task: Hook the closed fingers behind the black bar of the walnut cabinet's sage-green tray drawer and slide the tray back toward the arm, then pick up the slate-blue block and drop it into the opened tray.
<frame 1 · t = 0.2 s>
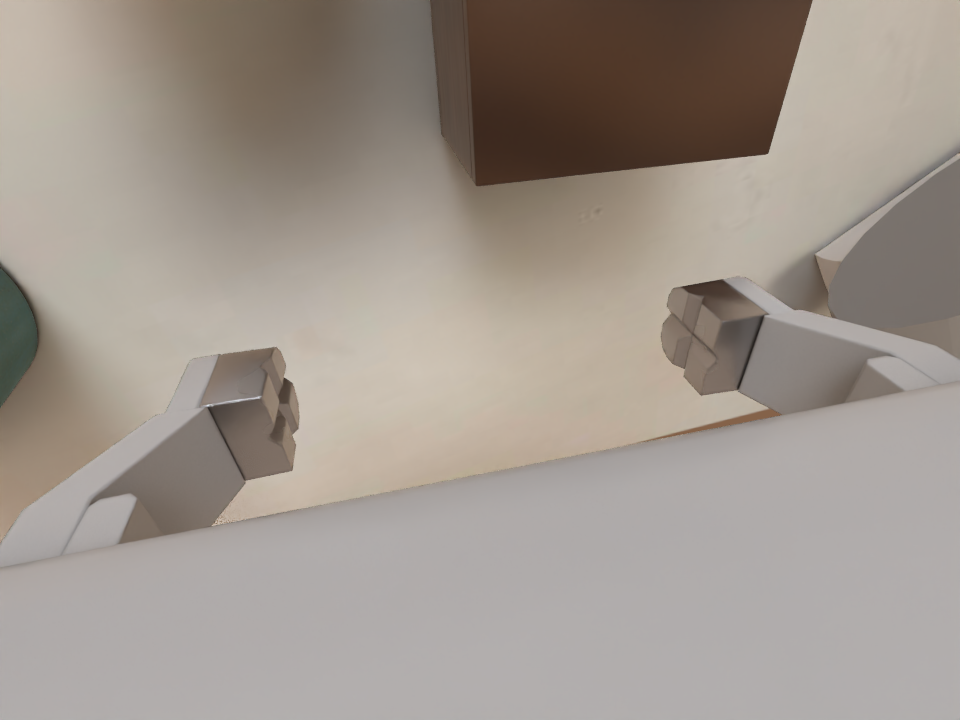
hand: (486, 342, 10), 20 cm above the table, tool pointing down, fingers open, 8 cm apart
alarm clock: (925, 201, 36), on the table
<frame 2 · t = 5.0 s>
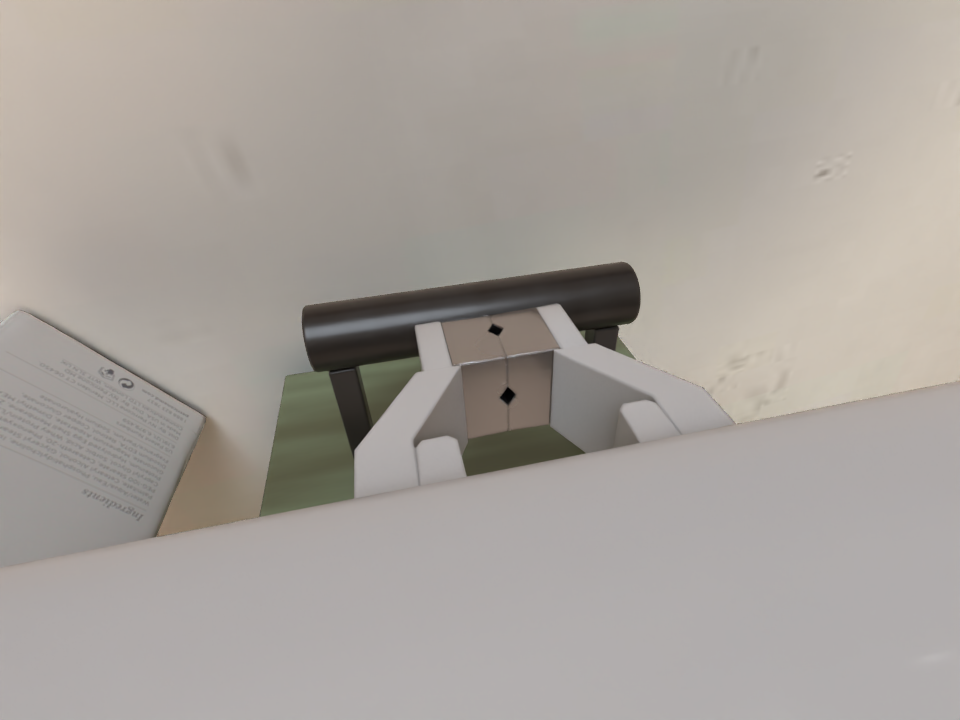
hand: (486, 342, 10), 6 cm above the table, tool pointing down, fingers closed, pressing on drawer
cosmetics box: (29, 444, 17), on the table
drawer: (483, 517, 16), point 5 cm above the table, slide at 0.5 cm, touching gripper
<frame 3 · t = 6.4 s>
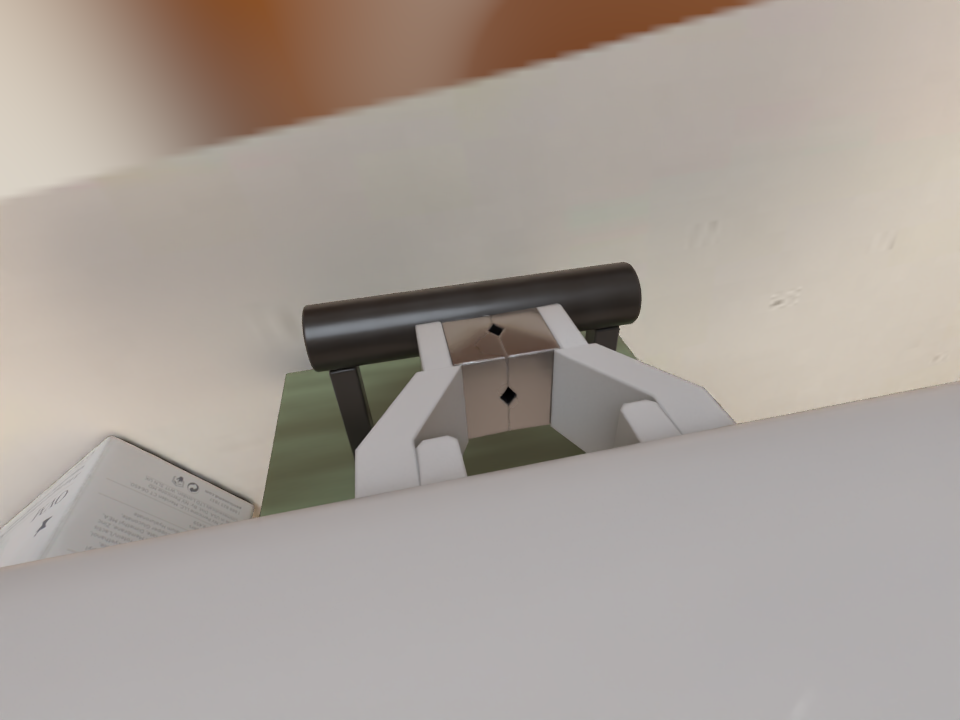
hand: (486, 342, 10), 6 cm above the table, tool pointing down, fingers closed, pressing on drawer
cosmetics box: (106, 529, 20), on the table
drawer: (483, 515, 16), point 5 cm above the table, slide at 5.8 cm, touching gripper
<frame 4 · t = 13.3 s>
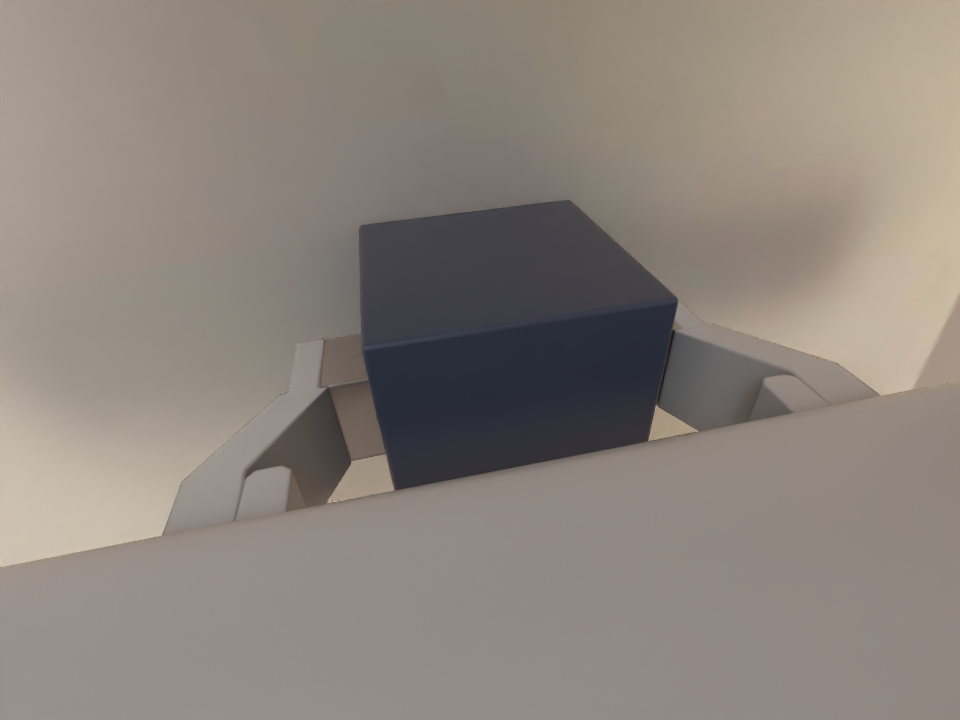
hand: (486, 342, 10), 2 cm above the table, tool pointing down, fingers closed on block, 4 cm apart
block: (473, 305, 12), on the table, touching gripper
when the fingers open (10 cm above the table, at t = 20.7 s): block drops 6 cm, resting on drawer.
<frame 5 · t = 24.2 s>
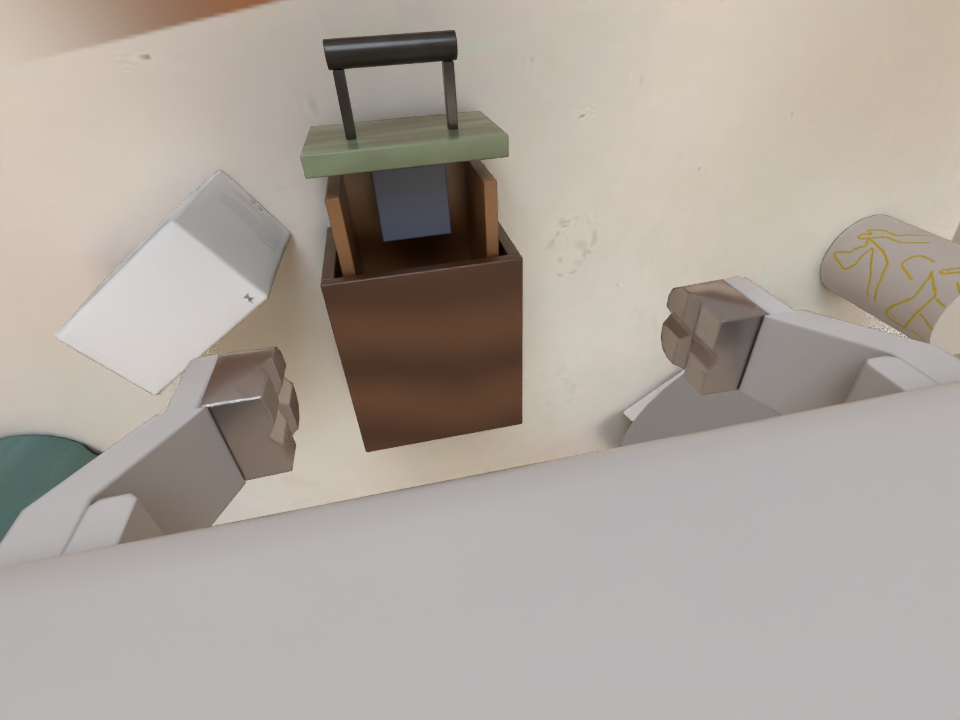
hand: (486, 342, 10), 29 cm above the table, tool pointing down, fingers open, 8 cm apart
flower pot: (51, 478, 45), on the table
cabinet: (421, 300, 42), on the table
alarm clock: (693, 378, 55), on the table
block: (407, 183, 34), point 2 cm above the table, touching drawer
white solid cylinder: (857, 253, 49), on the table
cosmetics box: (208, 245, 36), on the table
drawer: (411, 200, 32), point 5 cm above the table, slide at 5.9 cm, touching block
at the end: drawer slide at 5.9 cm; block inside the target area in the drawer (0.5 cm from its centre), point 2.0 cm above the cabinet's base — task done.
